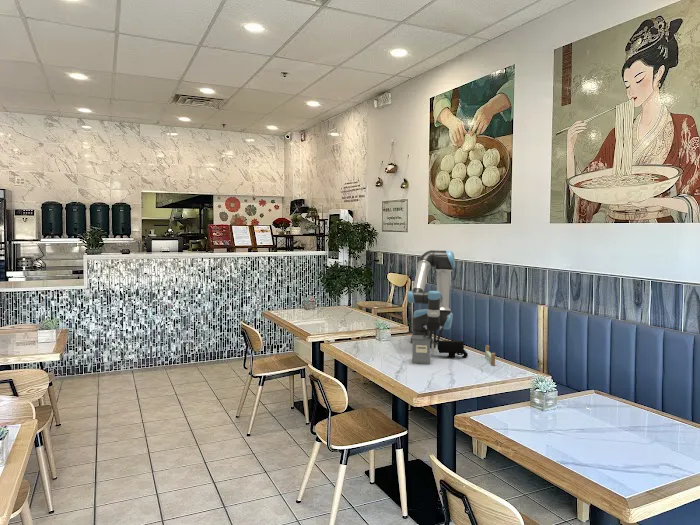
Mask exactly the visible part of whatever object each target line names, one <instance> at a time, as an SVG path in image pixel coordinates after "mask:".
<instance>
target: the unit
mask: <svg viewBox="0 0 700 525" xmlns="http://www.w3.org/2000/svg"><path fill="white" fill-rule="evenodd" d="M411 336H412V340H413V341H412V343H411V344H412V349H411V351H412V353H411V360H412V364H413V365H414V364H415V365H416V364H417V365H420V364H421V365H430V363H431V348H430V341H431V338H430V336H425V335H412V334H411Z"/></svg>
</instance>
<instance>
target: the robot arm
mask: <svg viewBox="0 0 700 525" xmlns="http://www.w3.org/2000/svg"><path fill="white" fill-rule="evenodd" d="M416 262H417V263H416V267H417V270H416V274H415V278H414V282H413V285H412V286H413V287H412V290H409V291H408V292H407V295H406V296H407V297H406V299H407V302H408V303H410V304H411V303H412V304H424V305H427V308H424V309H423V308H422V309H417V310H415V311H414V312H413V317H412V318H413V319H412V322H413V324H412V325H413V326H412V328H413V329H412V334H411V337H410V343H411V344H412V341H413V340H412V335H425V336H430V338H431V341H430V355H434V354H435V351H434V350H435V349H436V348H437V346H436V345H437V344H438V342H439V341H441V335H442V332H443V331H444V330H446V331H447V330H450V329H451V327H452V324H453V319H454V318H453V316H454V314H453V312H452V310H451V309H450V307H449V306H450V289H451V287H450V284H451V283H450V282H451V281H450V280H451V273H452V272H453V270H454V268H456V260H455V254H454V252H453V251H452V250H436V249H435V250H432V249H431V250H427V251H425V252H424V253H423V254H421V255H420V256H419V258H418V260H417V261H416ZM431 268H435V271H436V272H437V280H436V290H429V291H425V288H426V284H427V279H428V274H429V271H430V270H431ZM438 330H439V331H438ZM437 331H438V334H437Z"/></svg>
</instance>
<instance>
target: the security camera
mask: <svg viewBox="0 0 700 525" xmlns="http://www.w3.org/2000/svg"><path fill="white" fill-rule="evenodd" d="M436 345H437V346H436V348H437V351H438V352H439V354H448V355H447V356H446V358H451V359H452V358H453V359H456V355H457V356H461V357H462V358H463V359H467V358H469V355H468V354H469V353H468V352H467V351H466V350H465V345H464V341H463V340H439V342H438V343H436Z"/></svg>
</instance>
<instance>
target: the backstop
mask: <svg viewBox="0 0 700 525" xmlns="http://www.w3.org/2000/svg"><path fill="white" fill-rule="evenodd" d="M484 348H485V350H484V351H485V352H484V357H485V359H486V360H487V362H488V364H490V366H493V367H494V366H496V352H490V345H485V347H484Z"/></svg>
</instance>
